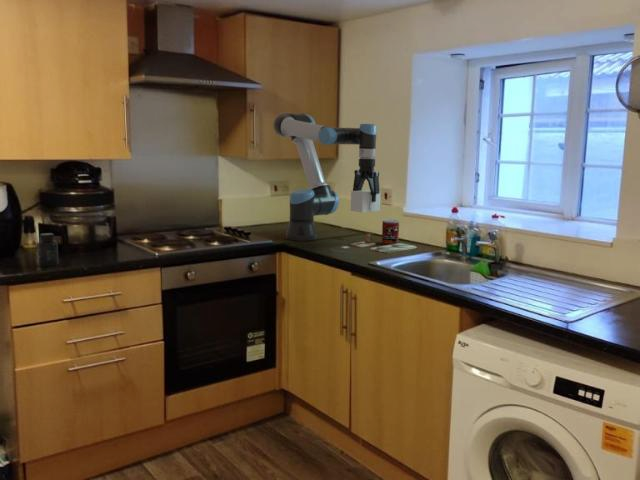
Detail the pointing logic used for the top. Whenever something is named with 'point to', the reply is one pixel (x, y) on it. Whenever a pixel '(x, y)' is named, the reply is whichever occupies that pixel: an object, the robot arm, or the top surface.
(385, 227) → the canned food
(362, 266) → the top surface
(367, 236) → the plate
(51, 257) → the supplement bottle
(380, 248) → the board
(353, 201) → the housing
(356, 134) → the robot arm
